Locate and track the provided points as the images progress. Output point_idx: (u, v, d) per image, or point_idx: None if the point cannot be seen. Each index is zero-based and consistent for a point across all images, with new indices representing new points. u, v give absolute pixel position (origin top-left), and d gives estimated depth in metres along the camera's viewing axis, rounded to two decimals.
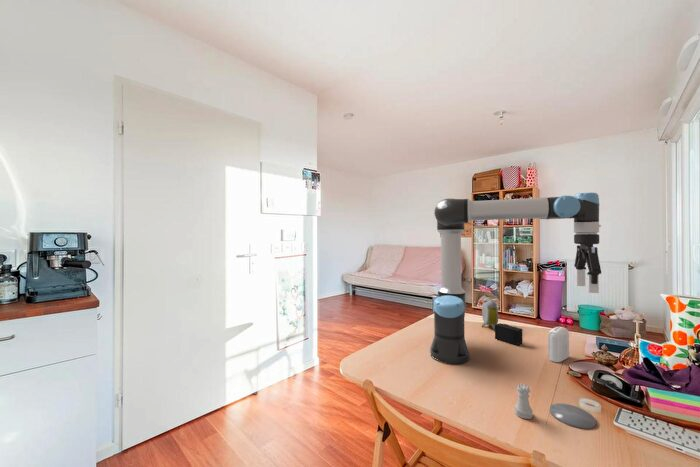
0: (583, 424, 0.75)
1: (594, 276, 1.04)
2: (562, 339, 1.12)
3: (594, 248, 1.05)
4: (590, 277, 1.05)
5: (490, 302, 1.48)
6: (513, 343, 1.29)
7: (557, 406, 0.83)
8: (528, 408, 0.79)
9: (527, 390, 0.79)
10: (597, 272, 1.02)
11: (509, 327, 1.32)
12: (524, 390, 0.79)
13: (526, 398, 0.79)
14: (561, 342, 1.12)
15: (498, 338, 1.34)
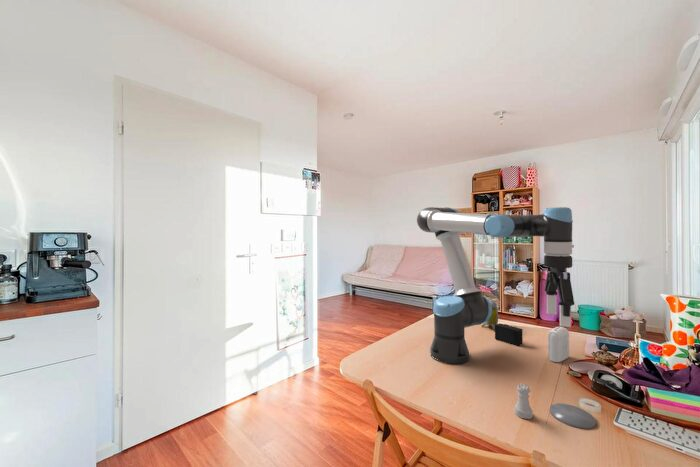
0: (583, 424, 0.75)
1: (566, 307, 0.87)
2: (562, 339, 1.12)
3: (566, 274, 0.89)
4: (562, 308, 0.89)
5: (490, 302, 1.48)
6: (513, 343, 1.29)
7: (557, 406, 0.83)
8: (528, 408, 0.79)
9: (527, 390, 0.79)
10: (570, 303, 0.86)
11: (509, 327, 1.32)
12: (524, 390, 0.79)
13: (526, 398, 0.79)
14: (561, 342, 1.12)
15: (498, 338, 1.34)
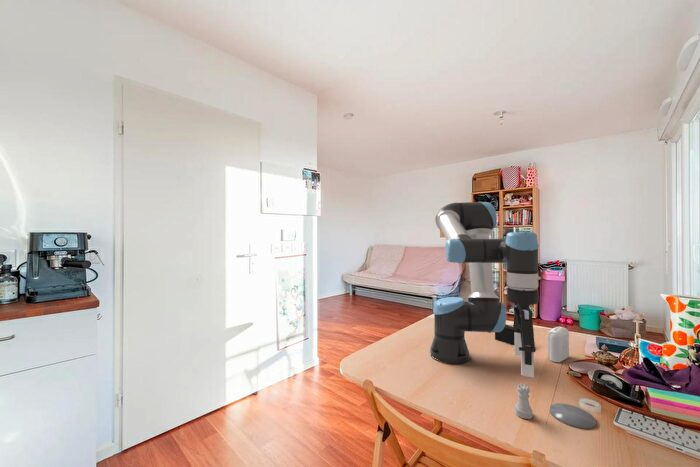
0: (583, 424, 0.75)
1: (527, 354, 0.73)
2: (562, 339, 1.12)
3: (528, 313, 0.74)
4: (523, 354, 0.74)
5: None
6: (513, 343, 1.29)
7: (557, 406, 0.83)
8: (528, 408, 0.79)
9: (527, 390, 0.79)
10: (530, 350, 0.71)
11: (509, 327, 1.31)
12: (524, 390, 0.79)
13: (526, 398, 0.79)
14: (561, 342, 1.12)
15: (498, 338, 1.34)
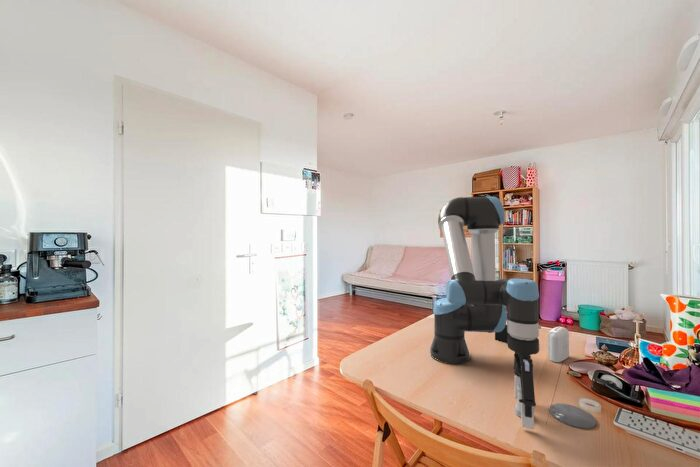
0: (583, 424, 0.75)
1: (527, 406, 0.73)
2: (562, 339, 1.12)
3: (528, 365, 0.74)
4: (523, 405, 0.74)
5: None
6: None
7: (557, 406, 0.83)
8: None
9: None
10: (530, 404, 0.71)
11: None
12: None
13: None
14: (561, 342, 1.12)
15: (498, 339, 1.34)
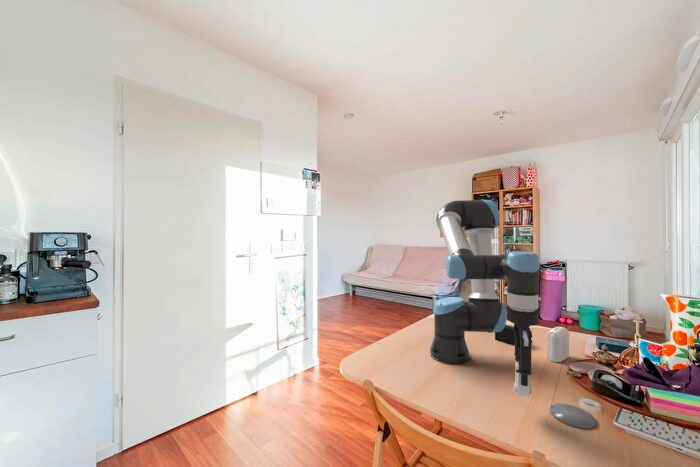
0: (583, 424, 0.75)
1: (524, 376, 0.77)
2: (562, 339, 1.12)
3: (528, 342, 0.74)
4: (519, 375, 0.79)
5: None
6: (514, 344, 1.28)
7: (557, 406, 0.83)
8: None
9: None
10: (526, 374, 0.76)
11: (509, 328, 1.31)
12: None
13: None
14: (561, 342, 1.12)
15: (498, 339, 1.34)
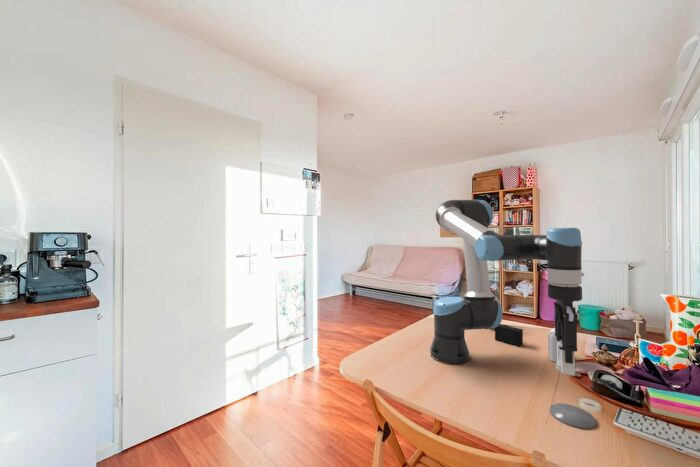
0: (583, 424, 0.75)
1: (568, 353, 0.76)
2: None
3: (573, 316, 0.73)
4: (563, 353, 0.77)
5: None
6: (514, 344, 1.28)
7: (557, 406, 0.83)
8: None
9: None
10: (571, 350, 0.74)
11: (509, 328, 1.31)
12: None
13: None
14: None
15: (498, 339, 1.33)
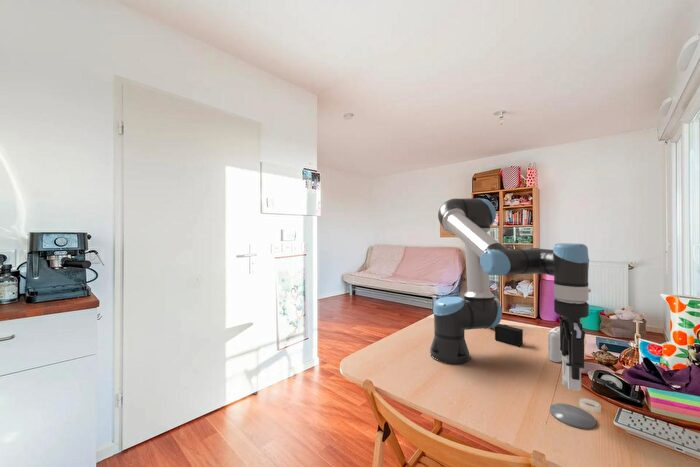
0: (583, 424, 0.75)
1: (575, 369, 0.76)
2: None
3: (580, 333, 0.73)
4: (570, 369, 0.77)
5: None
6: (514, 344, 1.28)
7: (557, 406, 0.83)
8: None
9: None
10: (579, 367, 0.74)
11: (509, 328, 1.31)
12: None
13: None
14: None
15: (498, 339, 1.33)
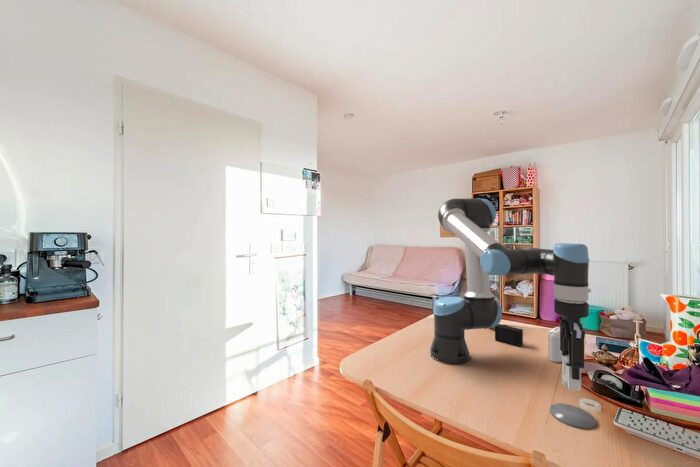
0: (583, 424, 0.75)
1: (575, 369, 0.76)
2: None
3: (580, 333, 0.73)
4: (570, 369, 0.77)
5: None
6: (514, 344, 1.28)
7: (557, 406, 0.83)
8: None
9: None
10: (579, 367, 0.74)
11: (509, 328, 1.31)
12: None
13: None
14: None
15: (498, 339, 1.33)
